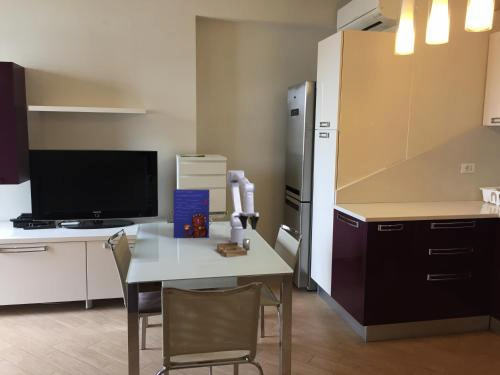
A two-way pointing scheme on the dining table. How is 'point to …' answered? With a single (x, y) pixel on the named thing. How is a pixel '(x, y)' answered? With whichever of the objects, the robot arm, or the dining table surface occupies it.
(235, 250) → the jig
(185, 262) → the dining table surface
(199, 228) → the cereal box
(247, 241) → the bushing
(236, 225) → the robot arm
